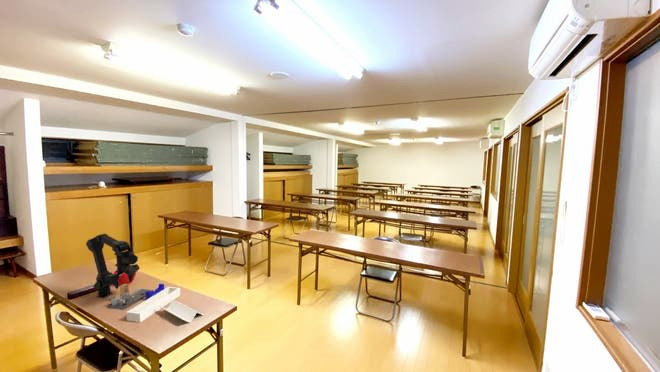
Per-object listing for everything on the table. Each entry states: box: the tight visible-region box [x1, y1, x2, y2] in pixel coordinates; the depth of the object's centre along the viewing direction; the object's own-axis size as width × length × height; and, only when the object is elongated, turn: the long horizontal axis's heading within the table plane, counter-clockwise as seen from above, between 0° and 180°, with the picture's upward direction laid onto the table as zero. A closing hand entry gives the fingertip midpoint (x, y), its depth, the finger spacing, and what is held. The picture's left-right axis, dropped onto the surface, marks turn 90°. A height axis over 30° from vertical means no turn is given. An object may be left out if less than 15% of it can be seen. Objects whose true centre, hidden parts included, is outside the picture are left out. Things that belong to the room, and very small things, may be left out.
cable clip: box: [145, 283, 165, 301], centre depth 181 cm, size 12×4×6 cm, turn 169°
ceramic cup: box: [113, 270, 137, 286], centre depth 200 cm, size 13×17×10 cm
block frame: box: [125, 286, 181, 323], centre depth 168 cm, size 9×31×5 cm, turn 169°
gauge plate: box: [107, 287, 155, 311], centre depth 176 cm, size 12×22×5 cm, turn 169°
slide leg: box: [119, 284, 134, 299], centre depth 174 cm, size 8×3×9 cm, turn 79°
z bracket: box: [159, 299, 204, 323], centre depth 161 cm, size 12×25×6 cm
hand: (124, 285), depth 174 cm, fingers open, 9 cm apart
